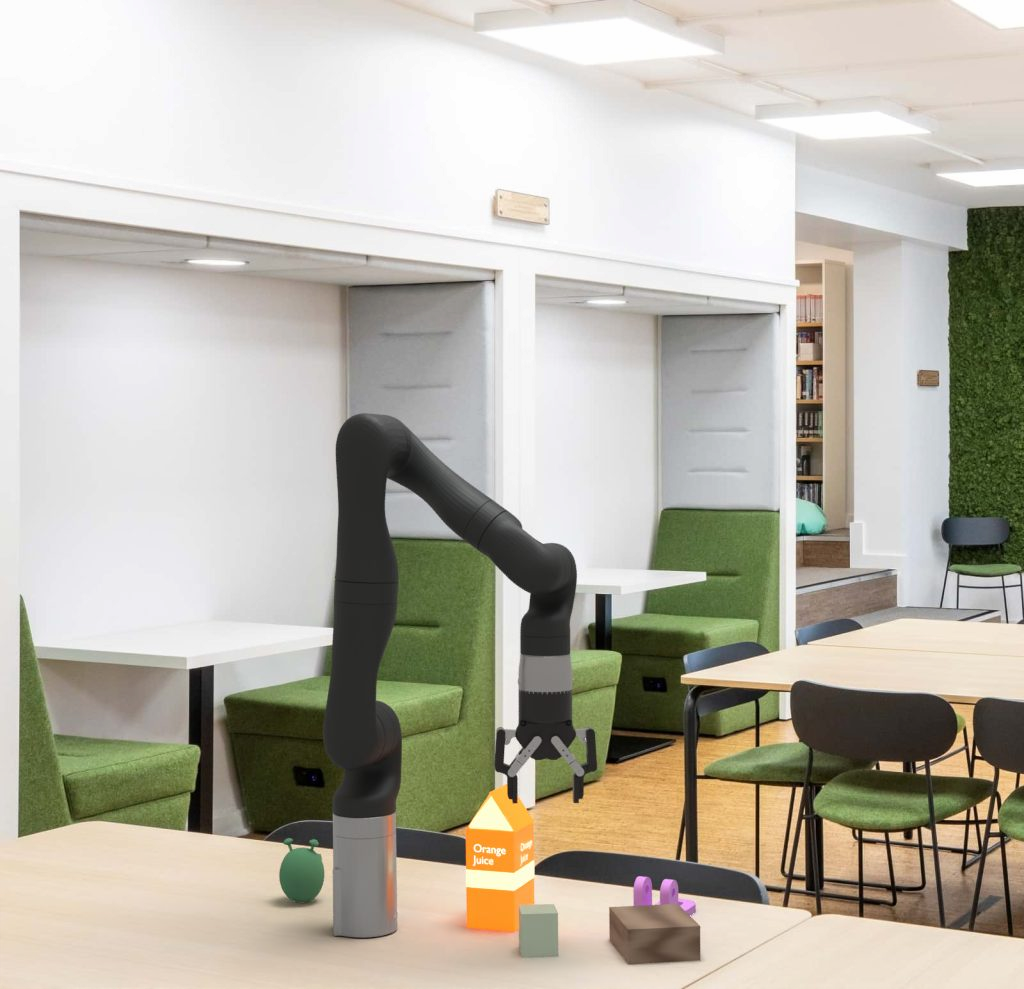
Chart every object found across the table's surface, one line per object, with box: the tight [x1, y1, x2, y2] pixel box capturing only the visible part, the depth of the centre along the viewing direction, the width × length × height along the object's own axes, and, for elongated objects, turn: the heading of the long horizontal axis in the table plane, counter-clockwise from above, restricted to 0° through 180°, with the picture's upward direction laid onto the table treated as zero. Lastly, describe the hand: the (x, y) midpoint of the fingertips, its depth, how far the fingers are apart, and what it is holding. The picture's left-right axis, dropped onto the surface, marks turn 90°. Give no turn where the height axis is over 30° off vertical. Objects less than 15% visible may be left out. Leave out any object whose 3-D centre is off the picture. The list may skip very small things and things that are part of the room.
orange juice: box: [465, 783, 535, 933], centre depth 240 cm, size 8×9×20 cm
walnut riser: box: [608, 904, 701, 965], centre depth 225 cm, size 10×12×5 cm
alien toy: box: [278, 837, 325, 903], centre depth 254 cm, size 7×8×10 cm
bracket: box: [632, 875, 697, 916], centre depth 242 cm, size 13×6×7 cm, turn 153°
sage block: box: [518, 903, 559, 959], centre depth 225 cm, size 5×5×6 cm
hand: (545, 802), depth 226 cm, fingers open, 8 cm apart
